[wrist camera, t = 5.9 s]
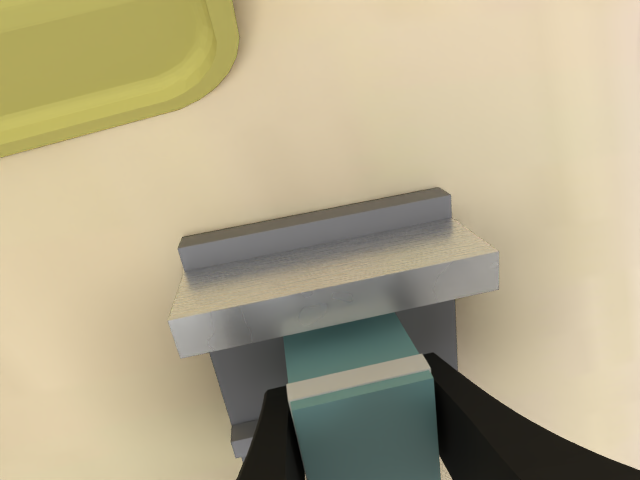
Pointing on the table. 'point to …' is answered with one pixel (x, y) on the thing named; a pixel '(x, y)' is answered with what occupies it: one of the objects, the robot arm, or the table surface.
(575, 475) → the robot arm
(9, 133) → the plastic component
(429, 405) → the block
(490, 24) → the table surface
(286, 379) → the grey stand with lip
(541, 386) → the table surface
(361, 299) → the rail
